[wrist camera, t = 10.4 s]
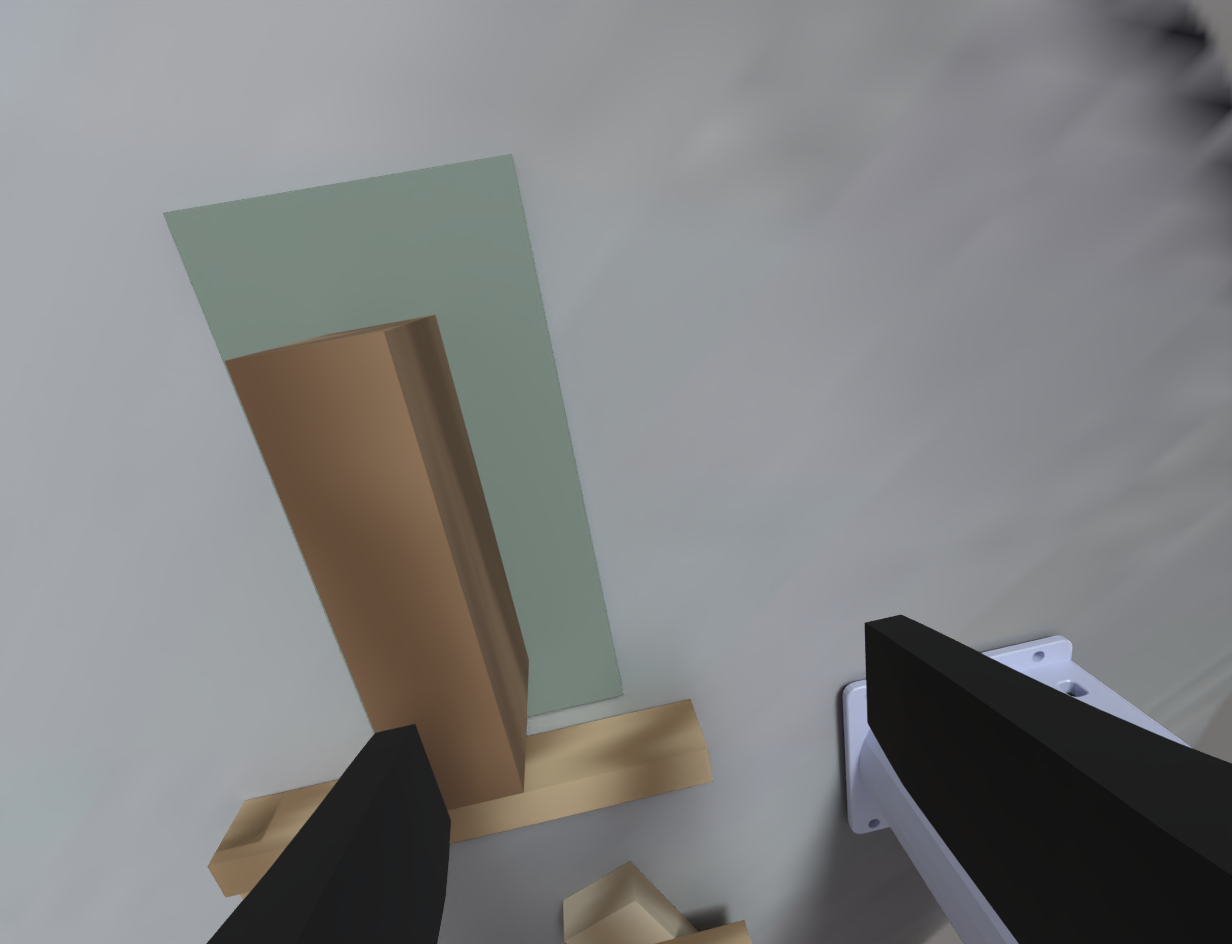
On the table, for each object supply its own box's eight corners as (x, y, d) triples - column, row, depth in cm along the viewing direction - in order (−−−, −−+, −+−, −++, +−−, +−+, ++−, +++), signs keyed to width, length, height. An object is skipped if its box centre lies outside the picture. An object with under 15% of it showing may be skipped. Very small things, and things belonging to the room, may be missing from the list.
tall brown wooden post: (435, 314, 16) (384, 331, 11) (528, 660, 20) (524, 792, 15) (328, 334, 16) (224, 361, 11) (444, 679, 20) (409, 819, 15)
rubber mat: (512, 157, 15) (511, 154, 15) (622, 687, 21) (623, 695, 21) (172, 215, 15) (162, 212, 14) (383, 741, 21) (380, 749, 21)
